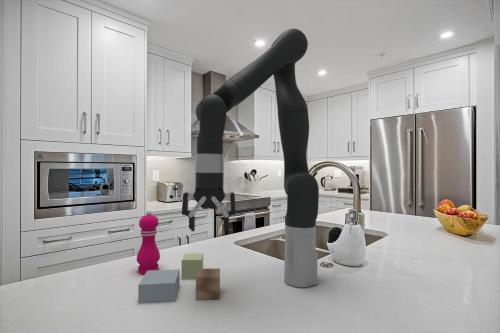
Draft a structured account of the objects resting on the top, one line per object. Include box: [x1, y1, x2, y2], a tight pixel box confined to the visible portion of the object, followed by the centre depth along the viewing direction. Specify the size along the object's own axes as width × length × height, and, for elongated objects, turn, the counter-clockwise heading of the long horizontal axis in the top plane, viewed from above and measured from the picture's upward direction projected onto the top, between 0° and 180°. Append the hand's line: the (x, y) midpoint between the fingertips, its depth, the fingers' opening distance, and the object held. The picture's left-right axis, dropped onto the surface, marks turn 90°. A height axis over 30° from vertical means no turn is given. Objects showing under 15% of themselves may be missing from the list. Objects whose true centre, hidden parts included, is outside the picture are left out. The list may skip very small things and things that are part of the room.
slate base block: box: [137, 268, 181, 304], centre depth 72 cm, size 9×9×5 cm
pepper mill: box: [136, 209, 161, 275], centre depth 88 cm, size 7×7×20 cm
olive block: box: [180, 252, 204, 280], centre depth 85 cm, size 6×6×6 cm
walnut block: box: [195, 267, 221, 301], centre depth 72 cm, size 6×6×6 cm
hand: (208, 230), depth 72 cm, fingers open, 8 cm apart
